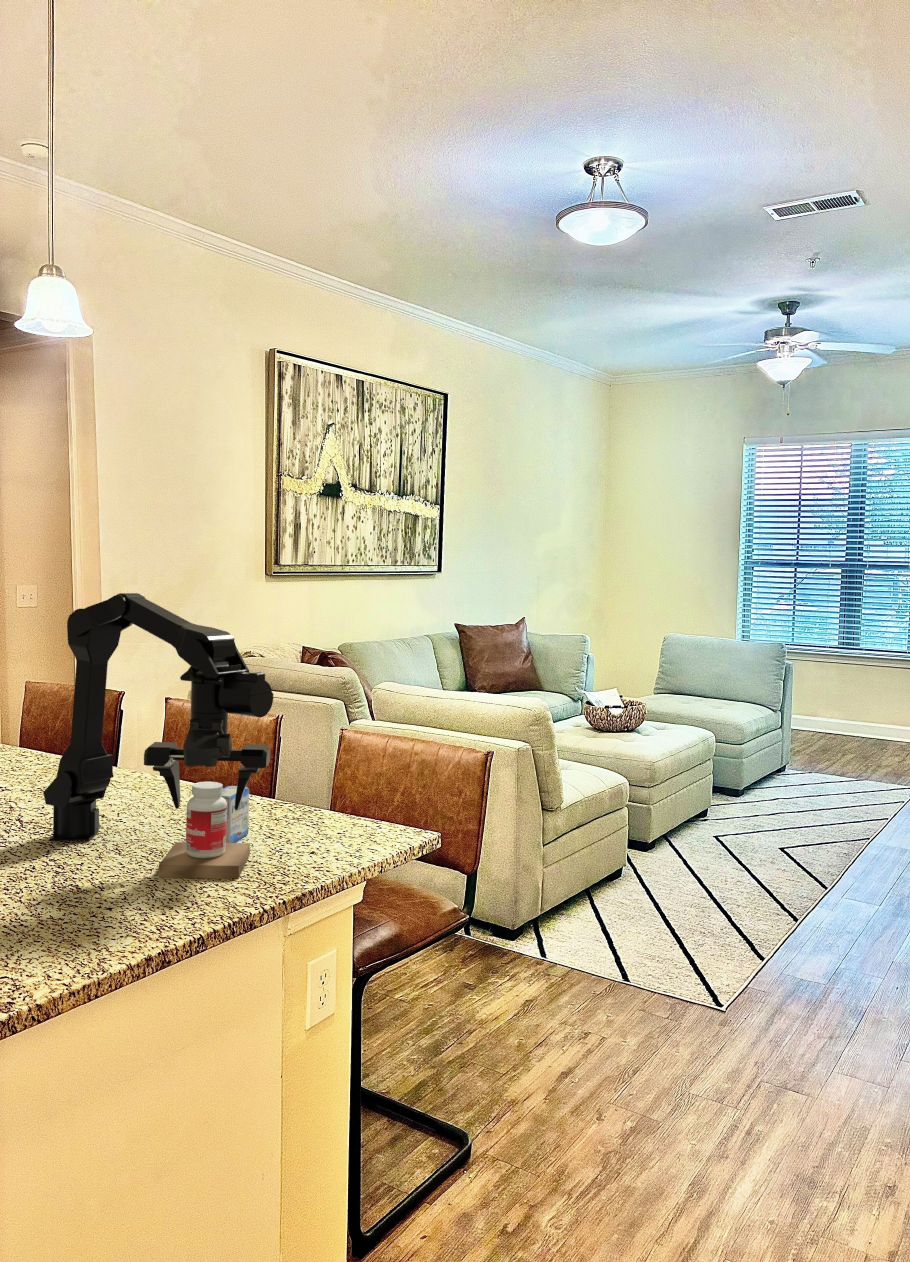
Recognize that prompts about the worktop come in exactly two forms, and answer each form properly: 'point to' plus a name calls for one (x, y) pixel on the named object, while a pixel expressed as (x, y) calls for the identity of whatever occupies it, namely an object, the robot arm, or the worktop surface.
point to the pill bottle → (206, 821)
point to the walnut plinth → (204, 863)
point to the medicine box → (236, 814)
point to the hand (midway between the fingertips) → (207, 808)
